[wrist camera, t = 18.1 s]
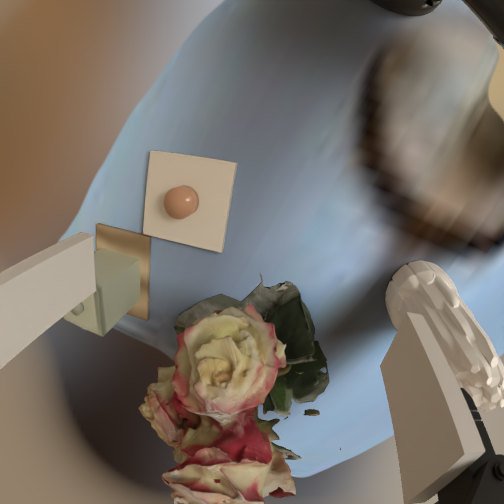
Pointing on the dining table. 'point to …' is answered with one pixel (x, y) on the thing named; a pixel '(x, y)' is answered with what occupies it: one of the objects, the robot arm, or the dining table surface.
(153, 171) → the cream plate
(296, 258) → the dining table surface
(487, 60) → the dining table surface
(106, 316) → the sage cover
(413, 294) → the decorative vase
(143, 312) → the tan mat
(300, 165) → the dining table surface
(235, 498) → the rose bouquet
